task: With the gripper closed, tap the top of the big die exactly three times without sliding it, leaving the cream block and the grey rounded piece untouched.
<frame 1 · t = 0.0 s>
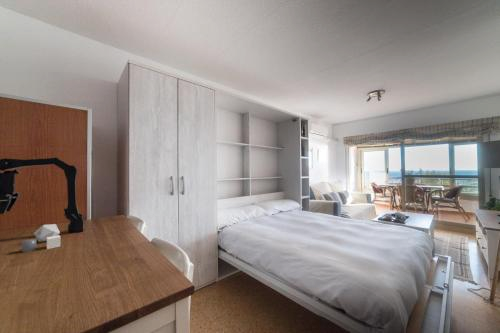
hand: (5, 212, 104), 15 cm above the table, fingers open, 9 cm apart
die: (47, 240, 105), on the table
cream block: (53, 246, 96), on the table
grey rounded piece: (28, 250, 91), on the table
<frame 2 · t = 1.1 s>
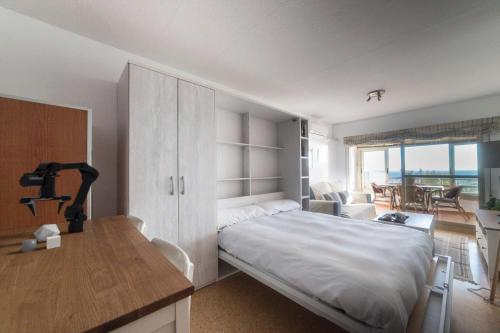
hand: (46, 215, 105), 13 cm above the table, fingers open, 8 cm apart
nothing on the table moved.
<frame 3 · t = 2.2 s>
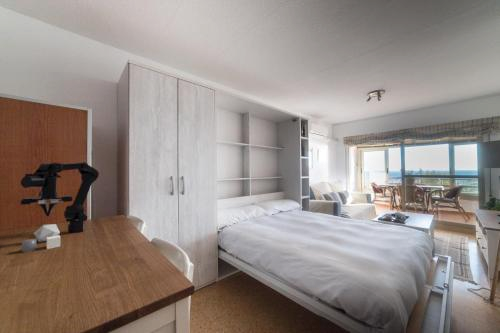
hand: (48, 216, 105), 13 cm above the table, fingers closed
nothing on the table moved.
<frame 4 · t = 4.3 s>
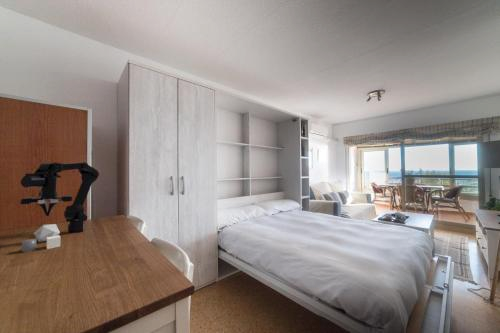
hand: (47, 216, 105), 13 cm above the table, fingers closed
nothing on the table moved.
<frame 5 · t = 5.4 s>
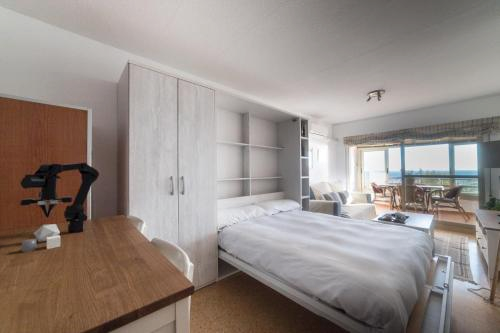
hand: (47, 217, 105), 12 cm above the table, fingers closed
nothing on the table moved.
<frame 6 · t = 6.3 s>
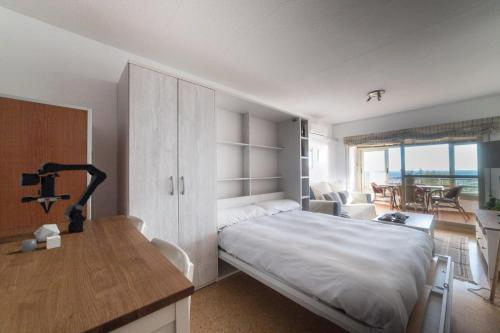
hand: (47, 213, 110), 13 cm above the table, fingers closed
nothing on the table moved.
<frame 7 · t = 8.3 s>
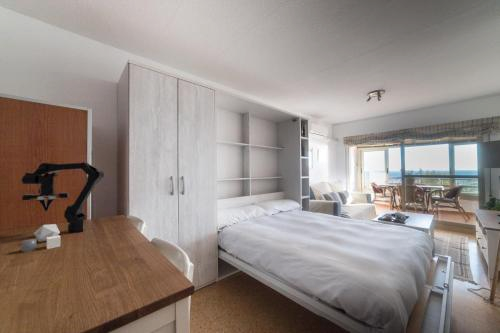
hand: (46, 210, 117), 13 cm above the table, fingers closed
nothing on the table moved.
at the end: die moved 0.2 cm from its start; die tilted 0°; cream block moved 0.1 cm from its start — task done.
